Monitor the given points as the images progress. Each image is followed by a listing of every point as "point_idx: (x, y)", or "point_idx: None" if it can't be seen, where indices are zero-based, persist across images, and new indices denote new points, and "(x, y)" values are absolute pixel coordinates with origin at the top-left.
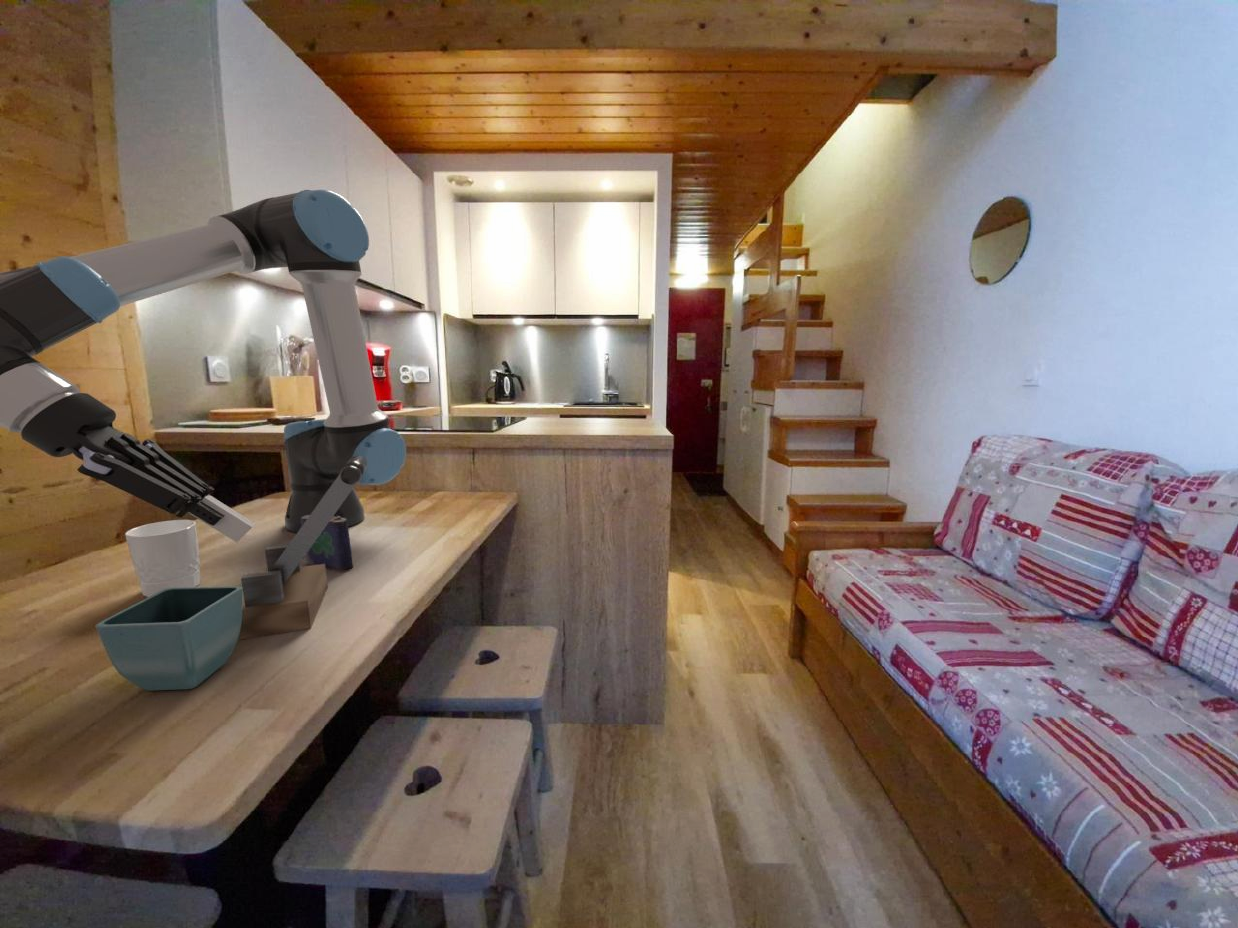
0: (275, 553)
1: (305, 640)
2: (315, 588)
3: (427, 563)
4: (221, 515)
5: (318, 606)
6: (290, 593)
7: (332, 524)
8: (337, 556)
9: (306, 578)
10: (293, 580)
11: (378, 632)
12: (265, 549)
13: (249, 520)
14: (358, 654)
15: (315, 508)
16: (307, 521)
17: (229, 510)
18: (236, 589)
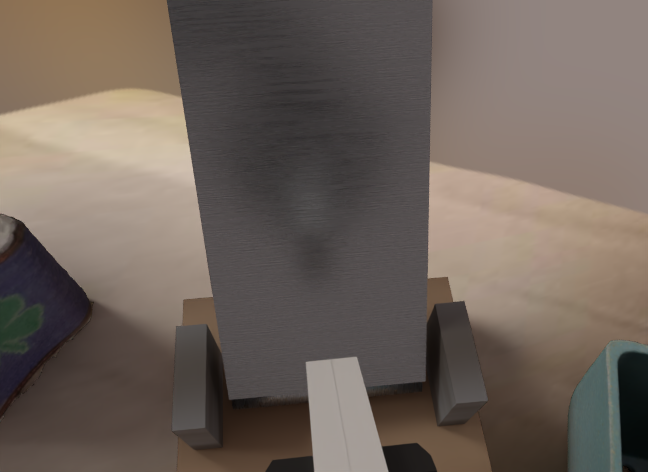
0: (208, 399)
1: (488, 305)
2: None
3: (135, 129)
4: (393, 452)
5: None
6: None
7: (5, 258)
8: (63, 308)
9: None
10: None
11: (475, 181)
12: (201, 426)
13: (310, 376)
14: (555, 199)
15: (430, 76)
16: (429, 136)
17: (346, 427)
18: (631, 349)
